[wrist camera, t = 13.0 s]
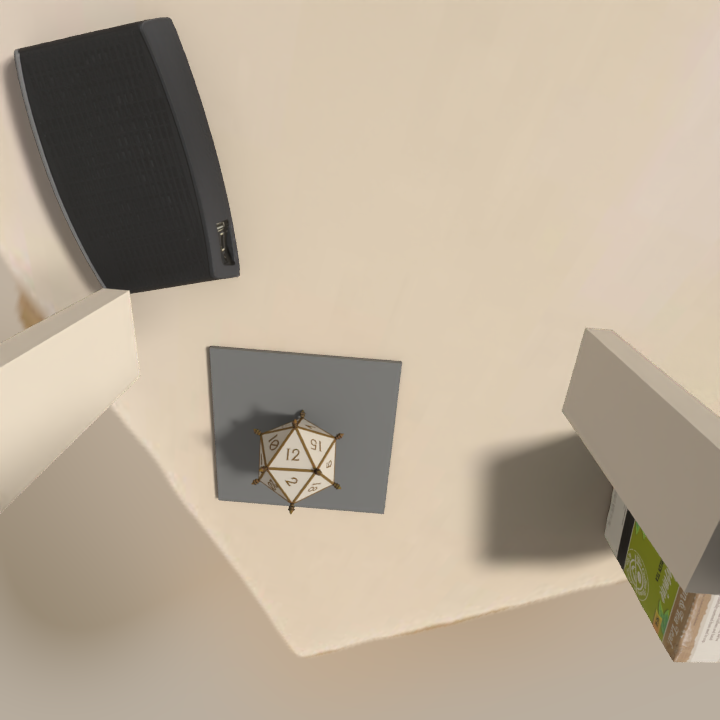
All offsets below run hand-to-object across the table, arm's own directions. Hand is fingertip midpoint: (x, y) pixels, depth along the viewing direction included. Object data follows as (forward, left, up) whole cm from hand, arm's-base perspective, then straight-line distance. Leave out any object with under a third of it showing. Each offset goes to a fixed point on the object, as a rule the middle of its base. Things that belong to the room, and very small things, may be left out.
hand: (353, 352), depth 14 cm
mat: (+22, -5, -29) cm, 37 cm away
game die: (+22, -5, -28) cm, 36 cm away
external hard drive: (-2, -19, -29) cm, 35 cm away
